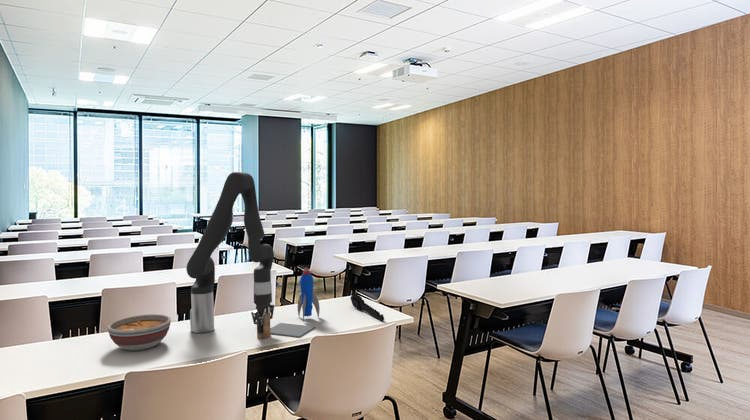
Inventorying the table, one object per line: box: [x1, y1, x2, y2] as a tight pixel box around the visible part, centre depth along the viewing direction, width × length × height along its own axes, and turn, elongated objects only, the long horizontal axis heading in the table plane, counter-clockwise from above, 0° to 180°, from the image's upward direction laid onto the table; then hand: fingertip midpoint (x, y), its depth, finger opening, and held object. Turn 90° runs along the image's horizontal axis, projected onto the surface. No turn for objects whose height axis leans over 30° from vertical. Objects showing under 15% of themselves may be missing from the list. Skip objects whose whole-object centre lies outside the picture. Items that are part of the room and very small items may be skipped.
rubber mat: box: [270, 322, 316, 338], centre depth 212 cm, size 18×14×1 cm
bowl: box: [107, 313, 172, 352], centre depth 194 cm, size 23×23×10 cm
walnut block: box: [256, 313, 272, 339], centre depth 203 cm, size 4×4×10 cm
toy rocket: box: [297, 266, 320, 322], centre depth 227 cm, size 11×10×25 cm
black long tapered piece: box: [350, 292, 385, 322], centre depth 238 cm, size 35×4×8 cm, turn 28°
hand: (263, 331), depth 203 cm, fingers closed on walnut block, 4 cm apart
